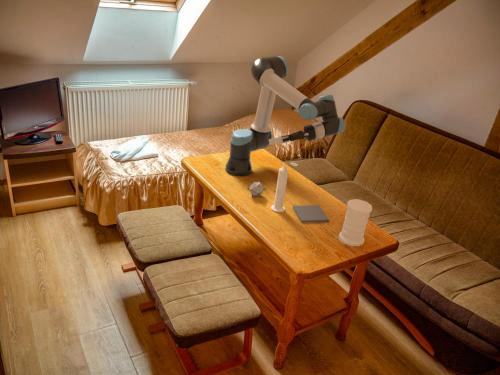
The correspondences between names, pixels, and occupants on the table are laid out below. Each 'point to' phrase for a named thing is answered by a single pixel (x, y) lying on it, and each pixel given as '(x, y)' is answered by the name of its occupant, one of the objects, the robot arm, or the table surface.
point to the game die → (256, 188)
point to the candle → (280, 190)
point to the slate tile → (310, 213)
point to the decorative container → (355, 222)
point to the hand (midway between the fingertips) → (272, 142)
